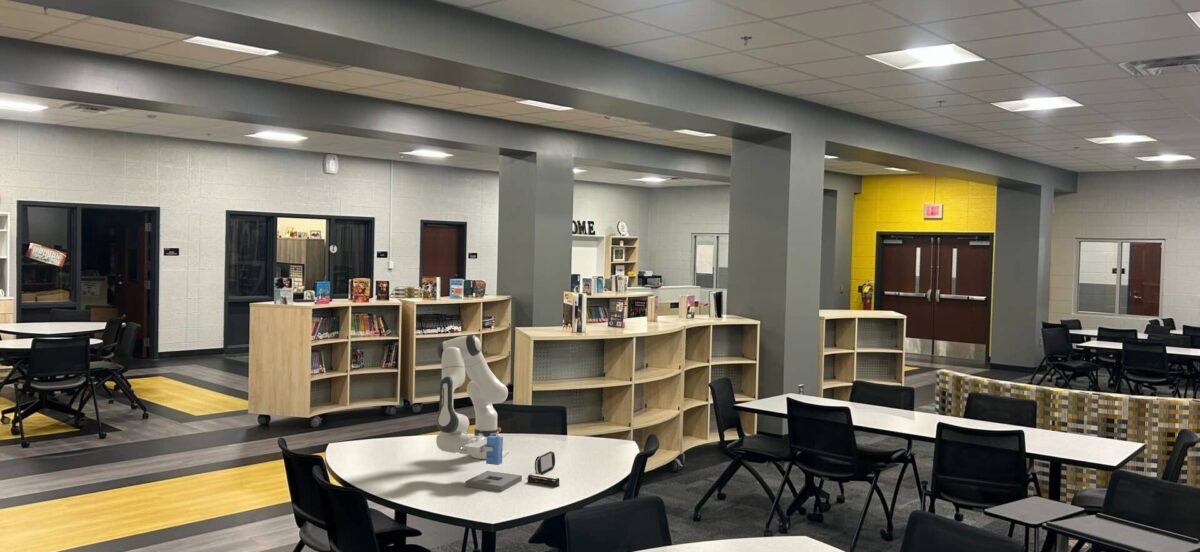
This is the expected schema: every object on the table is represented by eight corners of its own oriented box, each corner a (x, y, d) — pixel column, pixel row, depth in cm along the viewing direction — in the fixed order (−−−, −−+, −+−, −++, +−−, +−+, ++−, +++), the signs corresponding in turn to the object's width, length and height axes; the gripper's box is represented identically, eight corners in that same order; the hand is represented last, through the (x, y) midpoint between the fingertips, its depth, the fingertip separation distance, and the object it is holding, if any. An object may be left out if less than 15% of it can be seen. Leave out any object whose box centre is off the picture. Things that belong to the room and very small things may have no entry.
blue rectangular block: (493, 460, 379) (494, 431, 379) (505, 461, 377) (506, 433, 377) (482, 465, 370) (483, 435, 370) (494, 466, 368) (495, 437, 368)
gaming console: (534, 476, 388) (538, 476, 387) (533, 457, 388) (537, 457, 388) (552, 467, 406) (556, 468, 405) (550, 449, 406) (555, 449, 405)
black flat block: (530, 479, 386) (530, 470, 386) (578, 486, 375) (578, 477, 375) (514, 486, 373) (514, 477, 373) (563, 494, 362) (563, 485, 362)
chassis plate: (486, 476, 386) (486, 470, 386) (521, 480, 380) (521, 475, 380) (465, 486, 368) (465, 481, 368) (501, 491, 361) (501, 486, 361)
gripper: (457, 442, 368) (485, 445, 363) (480, 434, 387) (506, 437, 383) (457, 456, 368) (485, 459, 363) (479, 447, 387) (506, 450, 383)
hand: (496, 448), depth 373 cm, fingers closed on blue rectangular block, 4 cm apart
